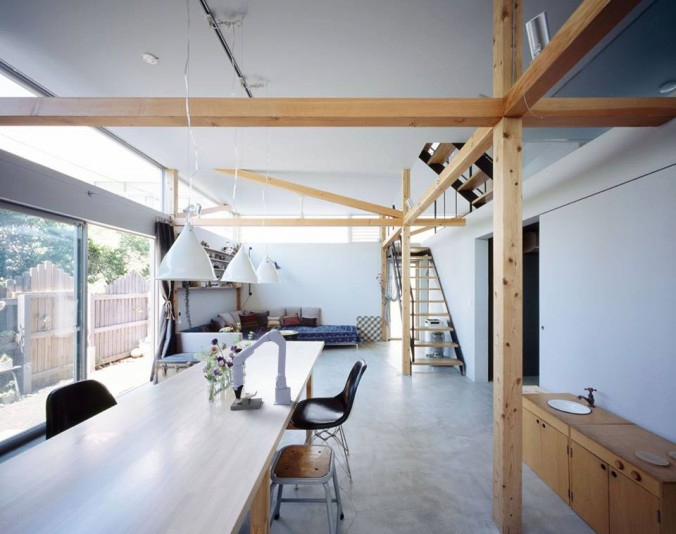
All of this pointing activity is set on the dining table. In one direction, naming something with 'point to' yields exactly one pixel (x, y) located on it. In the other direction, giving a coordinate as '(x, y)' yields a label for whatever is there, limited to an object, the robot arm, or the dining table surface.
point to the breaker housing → (246, 404)
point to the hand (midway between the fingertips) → (238, 398)
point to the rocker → (246, 396)
